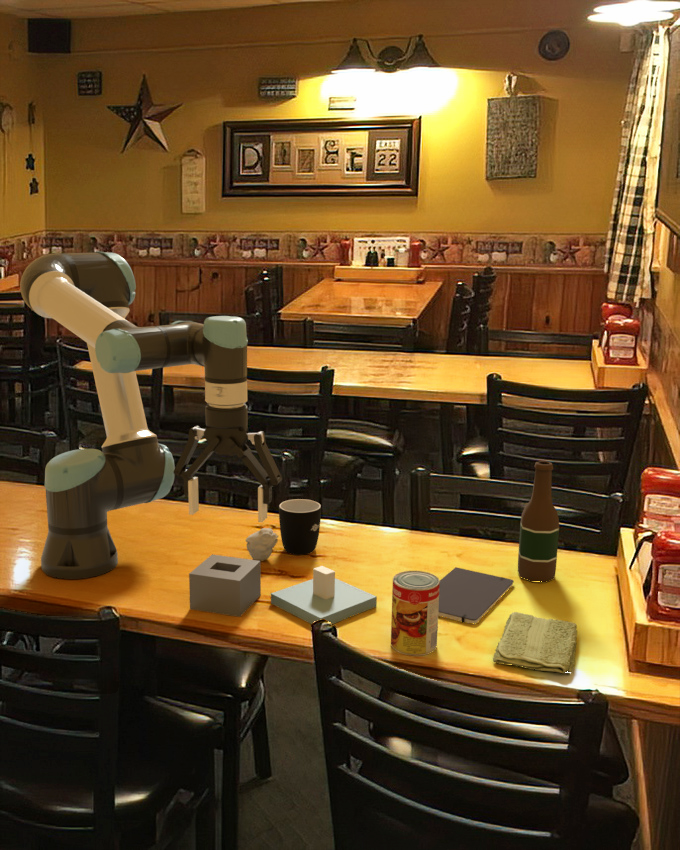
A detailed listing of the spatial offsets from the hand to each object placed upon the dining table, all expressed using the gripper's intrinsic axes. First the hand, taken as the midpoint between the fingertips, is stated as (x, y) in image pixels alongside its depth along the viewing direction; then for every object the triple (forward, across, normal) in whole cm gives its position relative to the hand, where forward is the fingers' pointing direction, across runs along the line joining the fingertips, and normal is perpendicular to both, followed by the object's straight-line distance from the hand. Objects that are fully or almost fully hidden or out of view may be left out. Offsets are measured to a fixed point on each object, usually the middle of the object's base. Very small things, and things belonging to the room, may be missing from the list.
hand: (227, 516), depth 171 cm
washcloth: (+18, +57, -2) cm, 60 cm away
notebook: (+18, +42, +15) cm, 48 cm away
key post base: (+17, +18, +4) cm, 25 cm away
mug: (+17, +5, +30) cm, 35 cm away
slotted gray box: (+17, 0, -1) cm, 17 cm away
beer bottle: (+17, +55, +30) cm, 65 cm away
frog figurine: (+17, -1, +21) cm, 27 cm away
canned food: (+17, +37, -7) cm, 41 cm away
